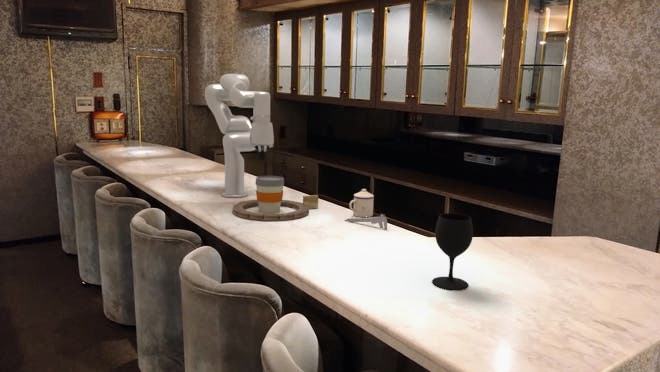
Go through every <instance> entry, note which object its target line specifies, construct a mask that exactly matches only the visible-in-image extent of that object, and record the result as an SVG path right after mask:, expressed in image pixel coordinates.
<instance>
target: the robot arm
mask: <svg viewBox="0 0 660 372" xmlns="http://www.w3.org/2000/svg"><path fill="white" fill-rule="evenodd" d="M250 82H251V81H250V78H248V76H247V75H246V74H241V73H225V74H223V75H222V76H220V79H219V83H213V84H212V83H211V84H209V85H207V86H206V87H205V89H204V90H205V91H204V97H205V98H204V99H205V101H206V104H207V106H208V108H209V109H210V111H211V113H212V115H213V116H214V118H215V120H216V123H217V125H218V127H219V130H220V132H221V133H222V134H224V135H223V136H222V137H223V138H222V146H223V153H224V191H222V192H221V196H223V197H225V198H233V199H235V198H244V197H247V196H248V192H246V191H245V159H244V157H243V156H242V154H241V152H251V151H255V150H256V151H257V158H258V160H259V161H265V159H266V152H267V150H269V148H273V147H274V143H275V142H274V141H275V140H274V139H275V136H274V128H273V123H272V122H271V93H269V92H268V91H267V92H266V91H257V90H256V91H255V90H253V91H252V90H249V88H250V86H251V85H250ZM223 101H224V102H226V101H227V102H228V101H229V102H231V103H232V104H233V105H235V106H236V107H238V108H243V109H244V108H248V109H253V112H252V113H253V115H252V116H250V119H249V118H248V117H246V116H244V115H234V114H232V112H231V109H230V108H229V106H228V105H227V104H226V103H224V102H223ZM251 121H252V122H251Z"/></svg>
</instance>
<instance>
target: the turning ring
mask: <svg viewBox="0 0 660 372" xmlns="http://www.w3.org/2000/svg"><path fill="white" fill-rule="evenodd" d="M252 207H259V204H258V201H257V199H250V200H249V199H248V200H245V201H240V202H237V203H235V204H234V205H233V206H232V214H234V215H235V216H236V217H239V218H243V219H247V220H256V221H277V222H279V221H289V220H296V219H299V218H304V217H306V216H307V215H309V214H310V209H317V208H319V195H318V194H313V195H312V194H311V195H303V196H302V202H299V201H295V200H290V199H289V200H287V199H282V201H281V205H280V207H288V208H293V209H295V210H293V211H289V212H278V213H273V214H266V213H261V212H254V211H249V210H246V209H247V208H252Z"/></svg>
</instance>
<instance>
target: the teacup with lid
mask: <svg viewBox="0 0 660 372" xmlns="http://www.w3.org/2000/svg"><path fill="white" fill-rule="evenodd" d="M374 198H375V196H374V194H372V193H370V192H369V191H367V189H366V188H362V189H361V190H360V191H359V192H356V193H354V194H353V199H352V200H350V202H349V203H348V205H349V206H348V207H349V209H350V211H352V215H353V216H354V215H355V217H357V216H358V217H357V218H371V217H374V216H373V215H374V201H375V200H374ZM352 205H353V207H352ZM366 216H367V217H366Z"/></svg>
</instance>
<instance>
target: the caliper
mask: <svg viewBox="0 0 660 372" xmlns="http://www.w3.org/2000/svg"><path fill="white" fill-rule="evenodd" d="M343 221H344V222H347V221H348V222H347V223H371V224H372V225H374V224H378V226H379V228H380V229H381V228H383V230H387V229H388V219H387V216H386V215H385V214H383V213H380V216H371V217H356V218H353V217H352V218H346V219H344V220H343Z"/></svg>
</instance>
